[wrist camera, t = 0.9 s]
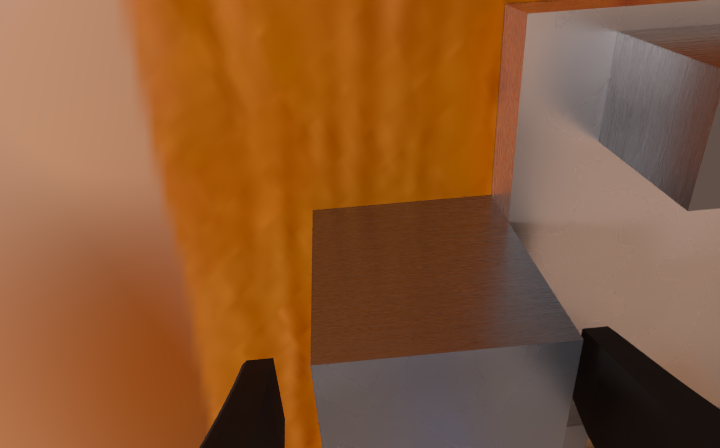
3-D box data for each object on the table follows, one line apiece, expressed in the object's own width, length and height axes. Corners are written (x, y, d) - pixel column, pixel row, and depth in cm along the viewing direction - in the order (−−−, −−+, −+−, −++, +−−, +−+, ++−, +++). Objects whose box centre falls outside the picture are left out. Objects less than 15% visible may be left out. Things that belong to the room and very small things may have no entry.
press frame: (743, 492, 23) (843, 625, 19) (468, 522, 23) (504, 664, 18) (999, -33, 13) (1351, -10, 8) (505, 3, 12) (607, 47, 8)
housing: (478, 364, 18) (543, 542, 13) (332, 378, 18) (339, 563, 13) (490, 194, 15) (583, 339, 10) (312, 209, 15) (310, 365, 10)
